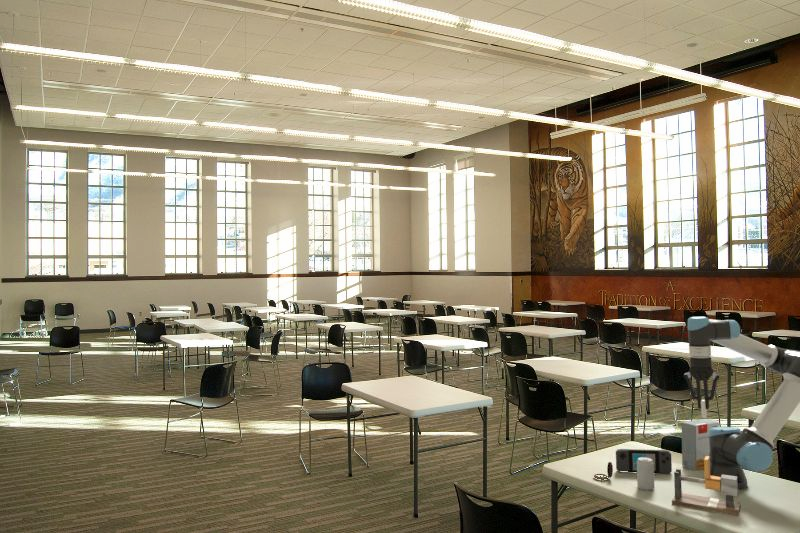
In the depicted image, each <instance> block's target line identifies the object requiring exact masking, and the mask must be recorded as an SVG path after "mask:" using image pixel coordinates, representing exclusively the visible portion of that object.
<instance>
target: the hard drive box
mask: <svg viewBox="0 0 800 533" xmlns="http://www.w3.org/2000/svg"><path fill="white" fill-rule="evenodd" d="M713 427H720V422H719V421H717V420H712V419H708V418H701V419H695V420H689V421H688V420H687V421H682V422H681V462H682V463H681V464H682V467H685V468H689V469H690V470H691V469H692V470H694V471H699V470H705V469H704V459H705V457H706V456H710V447H709V430H710V429H711V428H713Z"/></svg>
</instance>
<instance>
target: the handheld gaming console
mask: <svg viewBox="0 0 800 533" xmlns="http://www.w3.org/2000/svg"><path fill="white" fill-rule="evenodd" d="M640 457H646V458H651V459H652V460H653V463H654V473H660V475H670V474H671V473H672V472H673V471H672V469H673V468H672V454H671V452H670V451H669V450H666V449H631V448H630V449H628V448H620V449H617V450H615V469H616V471H617V472H618V471H628V472H637V460H638V458H640Z"/></svg>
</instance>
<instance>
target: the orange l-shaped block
mask: <svg viewBox="0 0 800 533" xmlns="http://www.w3.org/2000/svg"><path fill="white" fill-rule="evenodd" d="M703 470H704V479H705V484H704V487H705V490H713V491H716V492H717V491H718V492H721V486H720V482H721V477H718V476H711V475H710V456H706V457H705V459H704V469H703Z"/></svg>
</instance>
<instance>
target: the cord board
mask: <svg viewBox="0 0 800 533" xmlns="http://www.w3.org/2000/svg"><path fill="white" fill-rule="evenodd" d="M673 477H674V478H673V482H674V484H673V485H674V496H673V498H672V500H671V505H673V506H679V507H684V508H689V509H690V508H691V509H694V510H695V509H696V510H701V511H707V512H714V513H717V514H725V515H730V516H735V517H738V516H739V514H740V512H741V511H740V510H741V502H737V501H735V498H734V497H738V494H739V491H738V490H739V489H738V485H737V477H736V476H729V475H722V476H721V482H720V486H721V491H720V493H721V495H724V496H725V499H720V498H716V497H707V496H701V495H695V494H688V493H684V492H683V491H682V489H683V488H682V481H685V482H691V483H696V484H704V485H705V478H698V477H690V476H685V475H682V469H680V468H676V469H675V471H674V472H673Z"/></svg>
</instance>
